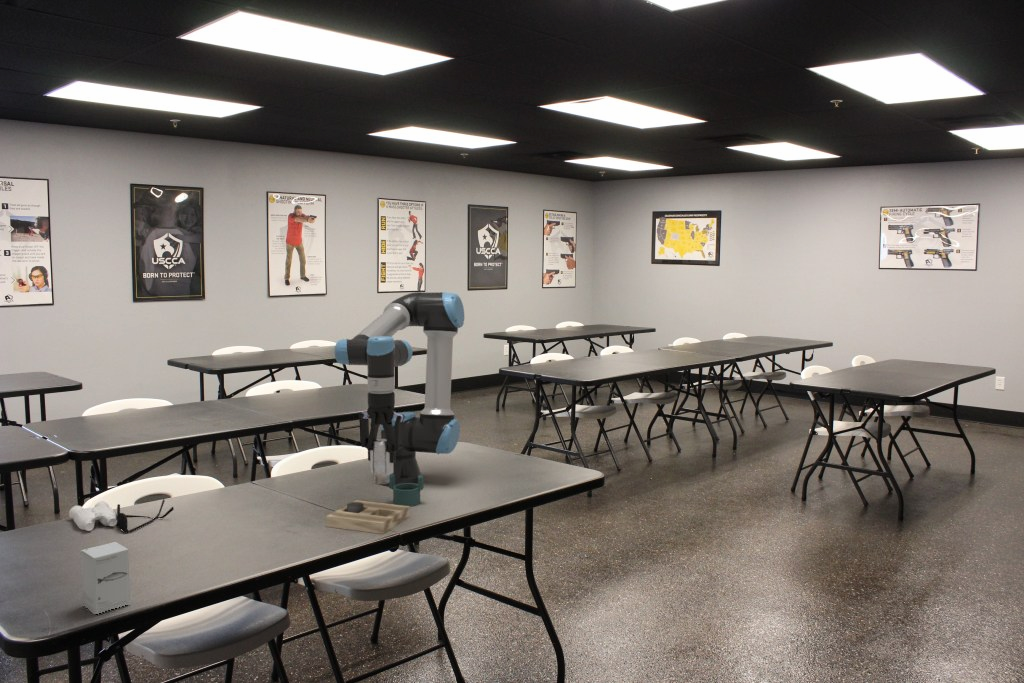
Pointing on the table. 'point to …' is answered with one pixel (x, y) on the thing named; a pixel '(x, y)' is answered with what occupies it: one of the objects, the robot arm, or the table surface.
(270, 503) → the table surface
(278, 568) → the table surface
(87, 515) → the binoculars
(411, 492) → the bracket
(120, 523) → the sunglasses
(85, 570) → the supplement box
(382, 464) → the metal cylinder
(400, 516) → the jig
